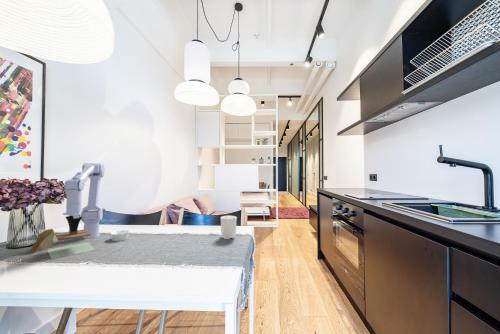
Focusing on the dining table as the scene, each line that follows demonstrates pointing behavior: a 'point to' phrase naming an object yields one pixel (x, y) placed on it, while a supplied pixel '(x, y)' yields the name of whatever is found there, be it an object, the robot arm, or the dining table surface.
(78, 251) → the mat
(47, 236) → the rock
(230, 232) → the candle holder
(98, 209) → the robot arm
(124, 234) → the ramekin
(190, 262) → the dining table surface
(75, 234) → the lid
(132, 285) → the dining table surface
